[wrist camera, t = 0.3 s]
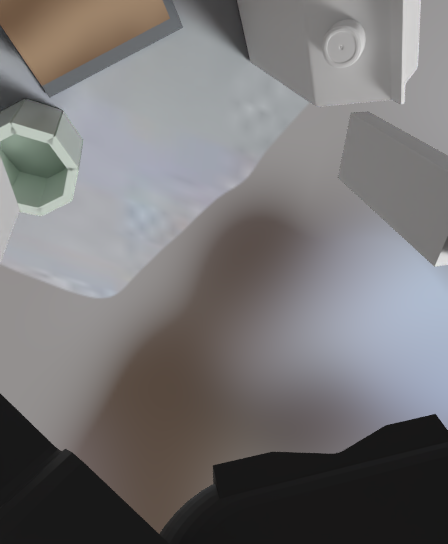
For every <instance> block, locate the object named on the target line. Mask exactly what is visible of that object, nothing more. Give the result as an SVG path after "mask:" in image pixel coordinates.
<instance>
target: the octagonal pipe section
mask: <svg viewBox="0 0 448 544" xmlns="http://www.w3.org/2000/svg"><path fill="white" fill-rule="evenodd" d="M82 145H83V139H82V138H81V136H80V135H79V133H78V132H77V131H76V129H75V128H74V126H73V125H72V123H71V122H70V120H69V119H68V117H67V116H66V114H65V113H64V111H63V112H62V110H60V109H57V108H54V107H51V106H48V105H45V104H42V103H39V102H36V101H32V100H29V99H26V100H25V99H23V100H21V101H20V102H18V103H16V104H14V105H12V106H10V107H8V108H6V109H4V110H2V111H1V112H0V156H1V159H2V162H3V164H4V167H5V170H6V173H7V176H8V178H9V181H10V184H11V187H12V189H13V192H14V195H15V198H16V200H17V203H18V206H19V209H20V211H19V212H22V213H27V214H31V215H36V216H41V215H42V216H44V215H46V214H48V213H50V212H52V211H54V210H56V209H58V208H59V207H61V206H63V205H65V204H67V203H69V202H71V201H72V200H73V195H74V190H75V185H76V180H77V176H78V171H79V165H80V158H81V151H82Z"/></svg>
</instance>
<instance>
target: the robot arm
mask: <svg viewBox="0 0 448 544" xmlns="http://www.w3.org/2000/svg"><path fill="white" fill-rule="evenodd" d="M338 178H339V179H340V180H341V181H342V182H343V183H344V184H345V185H346V186H348V187H349V188H350V189H351V190H352V191H353V192H354V193H355V194H356V195H358V197H359V198H361V199H362V200H363V201H364V202H365V203H366V204H367V205H368V206H369V207H370V208H371V209H372V210H374V211H375V212H376V213H377V214H378V215H379V216H380V217H381V218H382V219H383V220H385V221H386V222H387V223H388V224H389V225H390V226H391V227H392V228H393V229H394V230H395V231H396V232H398V233H399V234H400V235H401V236H402V237H403V238H404V239H405V240H406V241H407V242H408V243H410V244H411V245H412V246H413V247H414V248H415V249H416V250H417V251H418V252H419V253H420V254H421V255H423V256H424V257H425V258H426V259H427V260H428V261H429V262H430V263H431V264H432V265H434V266H441V265H448V156H447V155H446V154H444V153H442V152H440V151H438V150H436V149H435V148H433V147H431V146H429V145H428V144H426V143H424V142H422V141H420V140H419V139H417V138H415V137H413V136H411V135H410V134H408V133H406V132H404V131H402V130H401V129H399V128H397V127H395V126H393V125H392V124H390V123H388V122H386V121H384V120H383V119H381V118H379V117H377V116H375V115H374V114H372V113H370V112H356V113H355V112H354V113H351V114H350V119H349V125H348V130H347V134H346V140H345V145H344V150H343V155H342V160H341V165H340V170H339V175H338ZM19 211H20V209H19V206H18V203H17V200H16V198H15V195H14V192H13V189H12V187H11V184H10V181H9V178H8V176H7V173H6V170H5V167H4V164H3V162H2V159H1V156H0V263H1V260H2V257H3V254H4V252H5V249H6V246H7V244H8V241H9V238H10V236H11V233H12V230H13V227H14V225H15V222H16V219H17V217H18V214H19ZM213 482H214V484H213V485H211V486H209V487H207V488H206V489H204V490H202V491H201V492H199V493H198V494H197V495H195V496H194V497H193V498H191V499H190V500H189V501H188V502H186V503H185V505H183V506H182V507H181V508H180V509H179V510H178V511H177V512H176V513H175V514H174V516H173V517H172V518H171V519H170V520H169V522H168V523H167V524H166V525H165V526H164V528H163V529H162V531H161V532H160V534H158V533H157V532H156V531H155V530H154V529H153V528H152V527H151V526H150V525H149V524H148V523H147V522H146V521H145V520H143V518H142V517H140V516H139V515H138V514H137V513H136V512H135V511H134V510H133V509H132V508H131V507H130V506H129V505H128V504H127V503H126V502H125V501H124V500H123V499H122V498H120V497H119V496H118V495H117V494H116V493H115V492H114V491H113V490H112V489H111V488H110V487H109V486H108V485H107V484H106V483H105V482H104V481H103V480H101V479H100V478H99V477H98V476H97V475H96V474H95V473H94V472H93V471H92V470H91V469H90V468H89V467H88V466H87V465H86V464H84V462H82V461H81V460H80V459H79V458H78V457H77V456H76V455H74V454H73V453H72V452H70V451H68V450H67V449H65V450H63V451H60V450H59V449H57V448H56V447H55V446H54V445H53V444H51V442H50V441H48V439H47V438H45V437H44V436H43V435H42V434H41V433H40V432H39V431H38V430H37V429H36V428H35V427H34V426H33V425H32V424H31V423H30V422H29V421H28V420H27V419H26V418H25V417H24V416H23V415H22V414H21V413H20V412H19V411H18V410H17V409H16V408H15V407H14V406H12V404H11V403H9V402H8V401H7V400H6V399H5V398H4V397H3V396H2V395H1V394H0V544H448V430H447V429H446V428H445V426H444V425H443V424H442V422H441V421H440V419H439V418H438V417H437V415H436V414H433V415H429V416H425V417H420V418H416V419H412V420H408V421H403V422H399V423H394V424H390V425H386V426H384V427H382V428H381V429H379V430H377V431H376V432H374V433H372V434H371V435H369V436H367V437H366V438H364V439H362V440H361V441H359V442H357V443H356V444H354V445H352V446H351V447H349V448H347V449H346V450H344V451H342V452H340V453H336V454H321V453H292V452H270V453H265V454H261V455H256V456H252V457H248V458H243V459H239V460H235V461H230V462H226V463H222V464H217V465H213Z"/></svg>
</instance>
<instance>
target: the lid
mask: <svg viewBox="0 0 448 544" xmlns="http://www.w3.org/2000/svg"><path fill="white" fill-rule="evenodd" d="M168 19H170V17H169V15H168V12H167V10H166V7H165V5H164V3H163V0H0V25H1V27H2V28H3V29H4V31H5V32H6V34H7V35H8V37H9V38H10V40H11V41H12V43H13V44H14V46H15V47H16V49H17V50H18V52H19V53H20V54H21V56H22V57H23V59H24V60H25V62H26V63H27V65H28V66H29V68H30V69H31V71H32V72H33V74H34V75H35V77H36V78H37V79H38V81H39V82H40V84H41V85H42V86H43V85H45V84H47V83H49V82H51V81H53V80H55V79H56V78H58V77H60V76H62V75H64V74H66V73H68V72H70V71H72V70H74V69H75V68H77V67H79V66H81V65H83V64H85V63H87V62H89V61H91V60H92V59H94V58H96V57H98V56H100V55H102V54H104V53H106V52H108V51H109V50H111V49H113V48H115V47H117V46H119V45H121V44H123V43H125V42H127V41H128V40H130V39H132V38H134V37H136V36H138V35H140V34H142V33H144V32H145V31H147V30H149V29H151V28H153V27H155V26H157V25H159V24H161V23H163V22H164V21H166V20H168Z"/></svg>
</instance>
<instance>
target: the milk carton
mask: <svg viewBox="0 0 448 544" xmlns="http://www.w3.org/2000/svg"><path fill="white" fill-rule="evenodd" d="M237 3H238V8H239V12H240V17H241V21H242V26H243V31H244V35H245V40H246V44H247V49H248V53H249V58H250V61H251V63H252V64H254V65H255V66H257V67H258V68H260V69H261V70H263V71H264V72H266V73H267V74H269V75H270V76H272V77H273V78H275V79H276V80H277V81H279V82H280V83H282V84H283V85H285V86H286V87H288V88H289V89H291V90H292V91H294V92H295V93H297V94H298V95H300V96H301V97H303V98H304V99H306V100H307V101H309V102H310V103H312V104H313V105H315V106H317V107H321V106H332V105H343V104H352V103H364V102H375V101H385V100H393V101H395V102H397V103H399V104H403V103H405V84H406V82H407V81H408V80H409V78H410V77H411V76H412V74H413V73H414V72H415V71H416V69H417V68H418V54H419V31H420V8H421V0H237Z"/></svg>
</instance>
